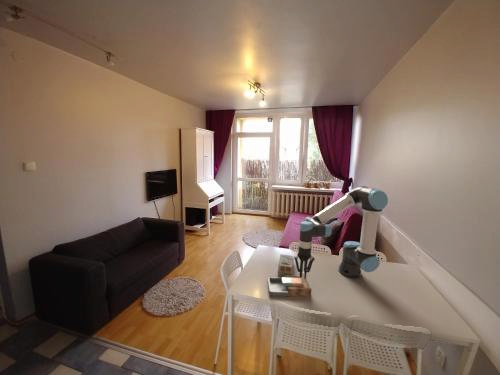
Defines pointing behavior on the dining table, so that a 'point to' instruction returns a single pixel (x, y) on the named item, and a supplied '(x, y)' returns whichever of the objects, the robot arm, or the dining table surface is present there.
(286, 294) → the box
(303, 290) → the brown wooden tray
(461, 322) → the dining table surface
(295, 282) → the tile
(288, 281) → the tile
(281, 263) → the toy car
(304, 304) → the dining table surface
